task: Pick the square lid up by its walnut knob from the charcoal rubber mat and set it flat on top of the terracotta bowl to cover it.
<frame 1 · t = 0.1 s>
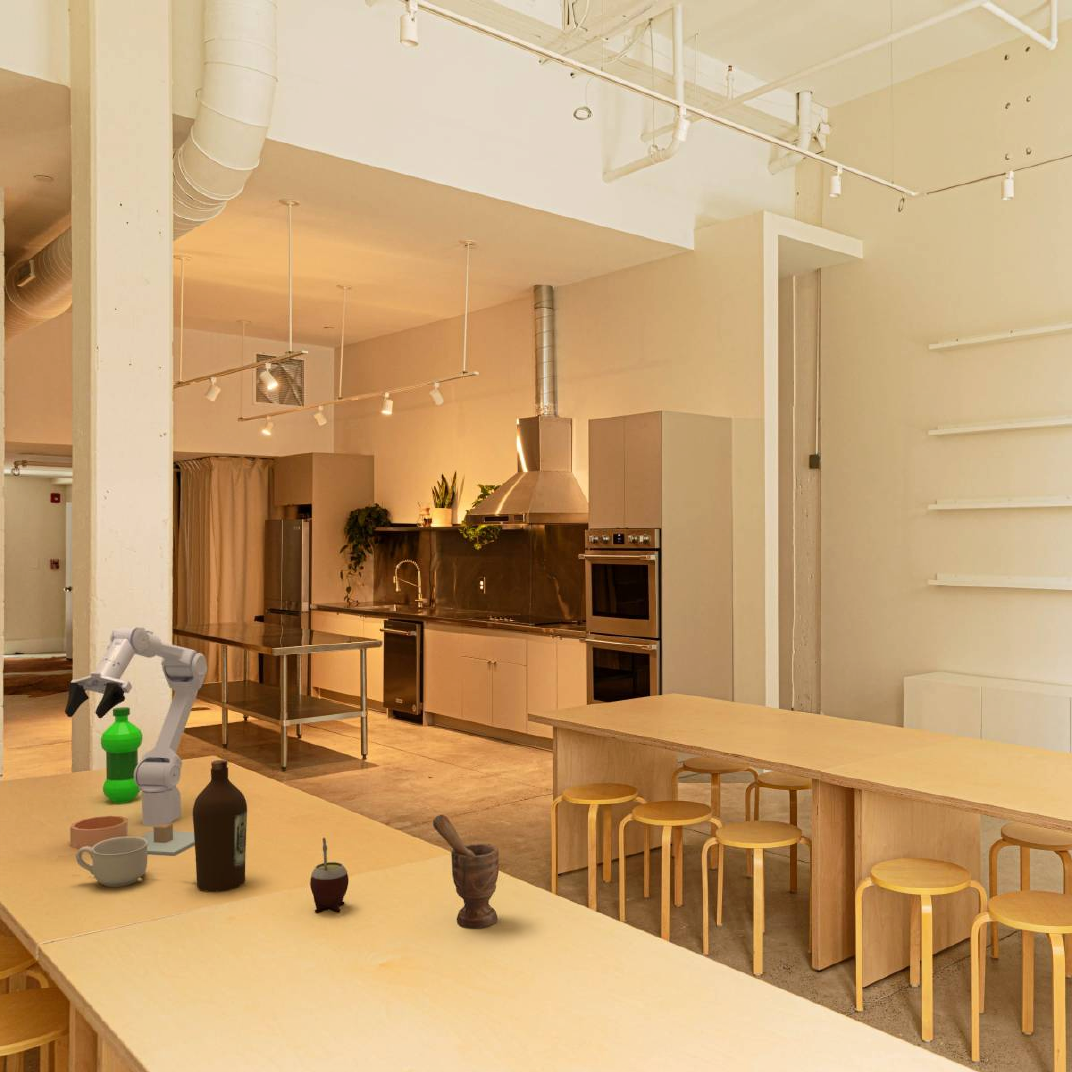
hand: (83, 714, 228), 32 cm above the table, tool tilted 50°, fingers open, 7 cm apart
lid: (163, 843, 237), point 1 cm above the table, touching mat
mat: (163, 846, 237), on the table
mate gourd: (330, 910, 195), on the table
plastic bottle: (122, 801, 280), on the table
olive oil: (221, 885, 210), on the table
bowl: (99, 844, 240), on the table
mortar and pestle: (469, 924, 187), on the table
teacup: (113, 883, 213), on the table
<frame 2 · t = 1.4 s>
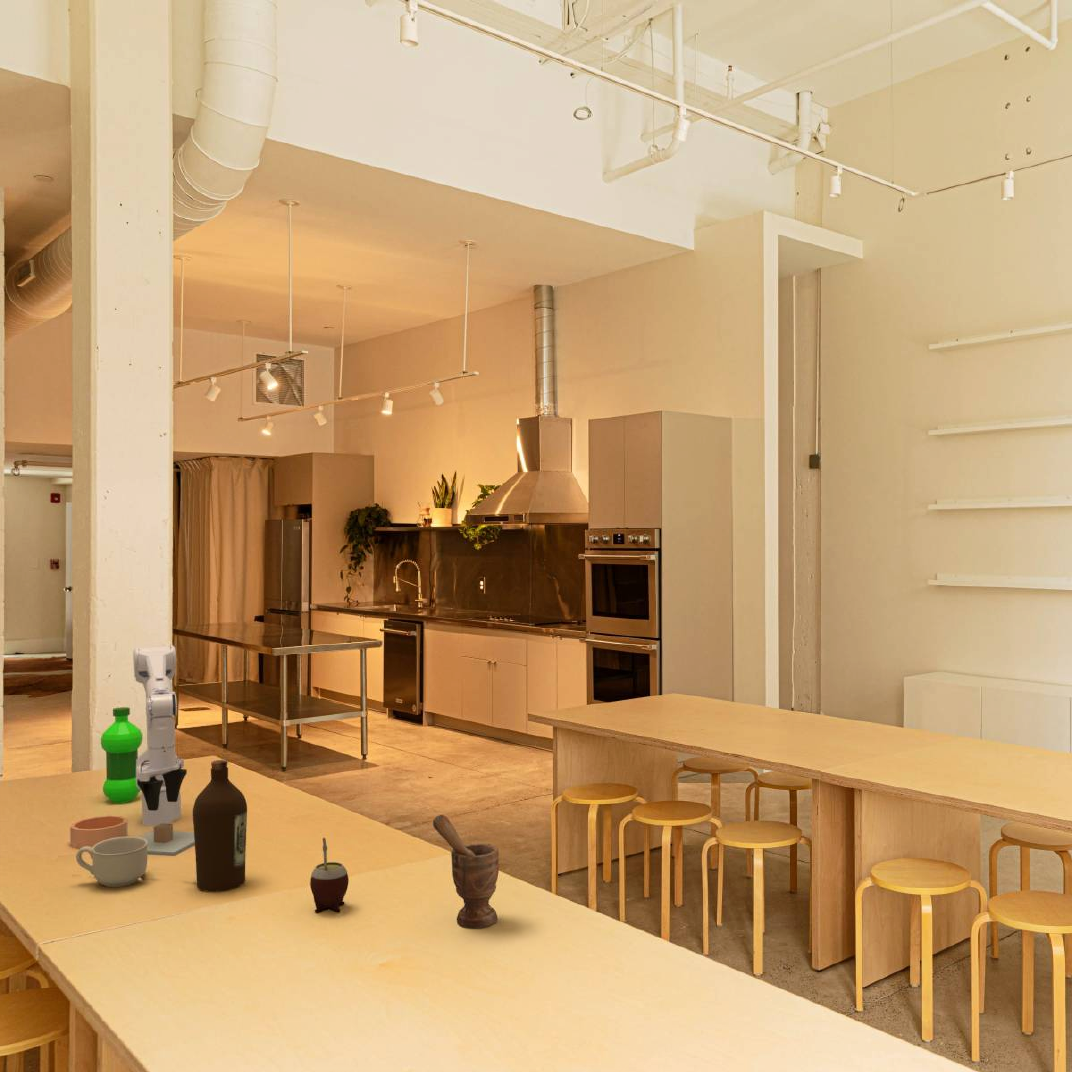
hand: (162, 805, 237), 9 cm above the table, tool pointing down, fingers open, 7 cm apart
nothing on the table moved.
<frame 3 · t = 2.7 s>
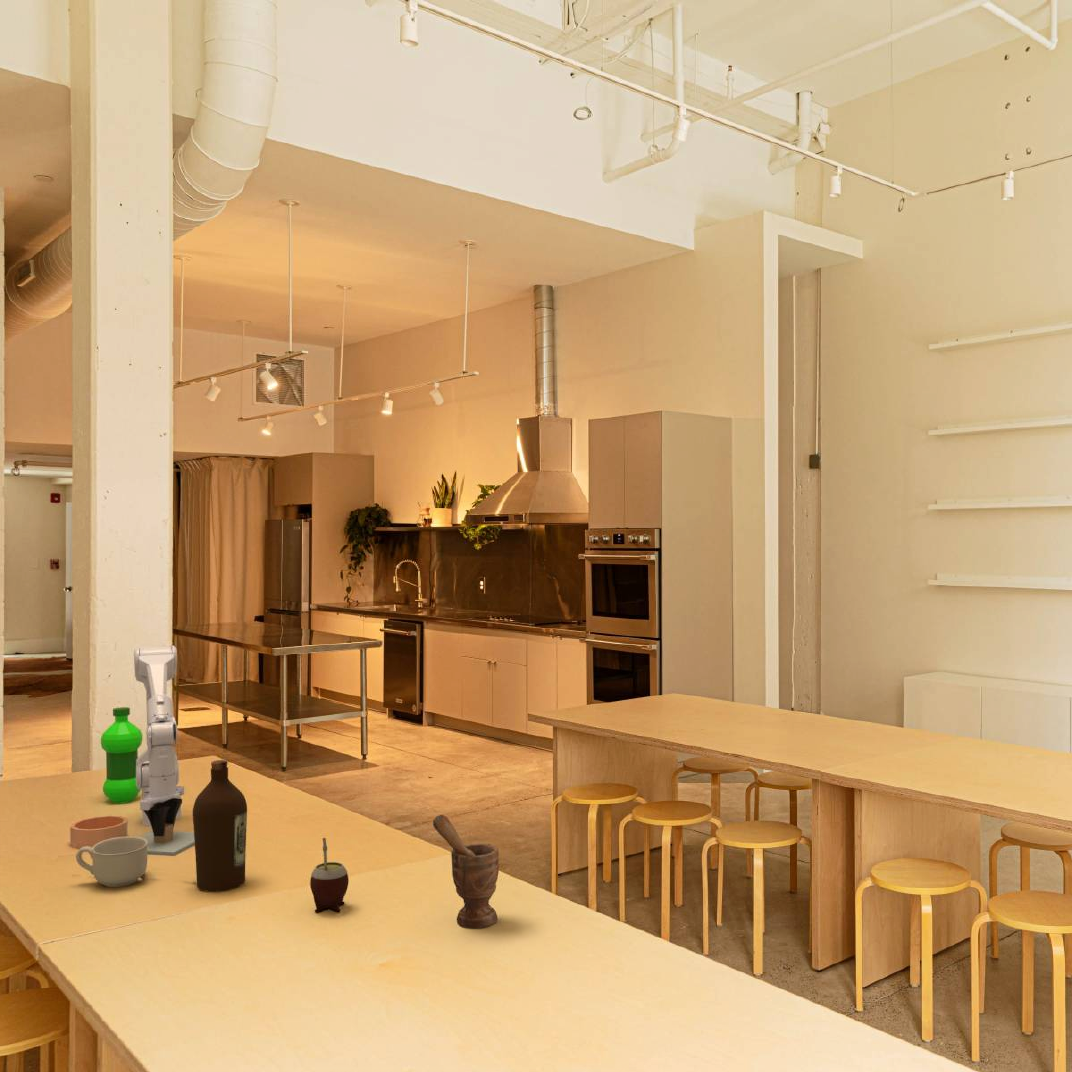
hand: (163, 833, 237), 3 cm above the table, tool pointing down, fingers closed on lid, 3 cm apart
lid: (163, 843, 237), point 1 cm above the table, touching gripper, mat
everything else where it was.
when the fingers open (8 cm above the table, at t = 6.3 s): lid stays where it is, resting on bowl.
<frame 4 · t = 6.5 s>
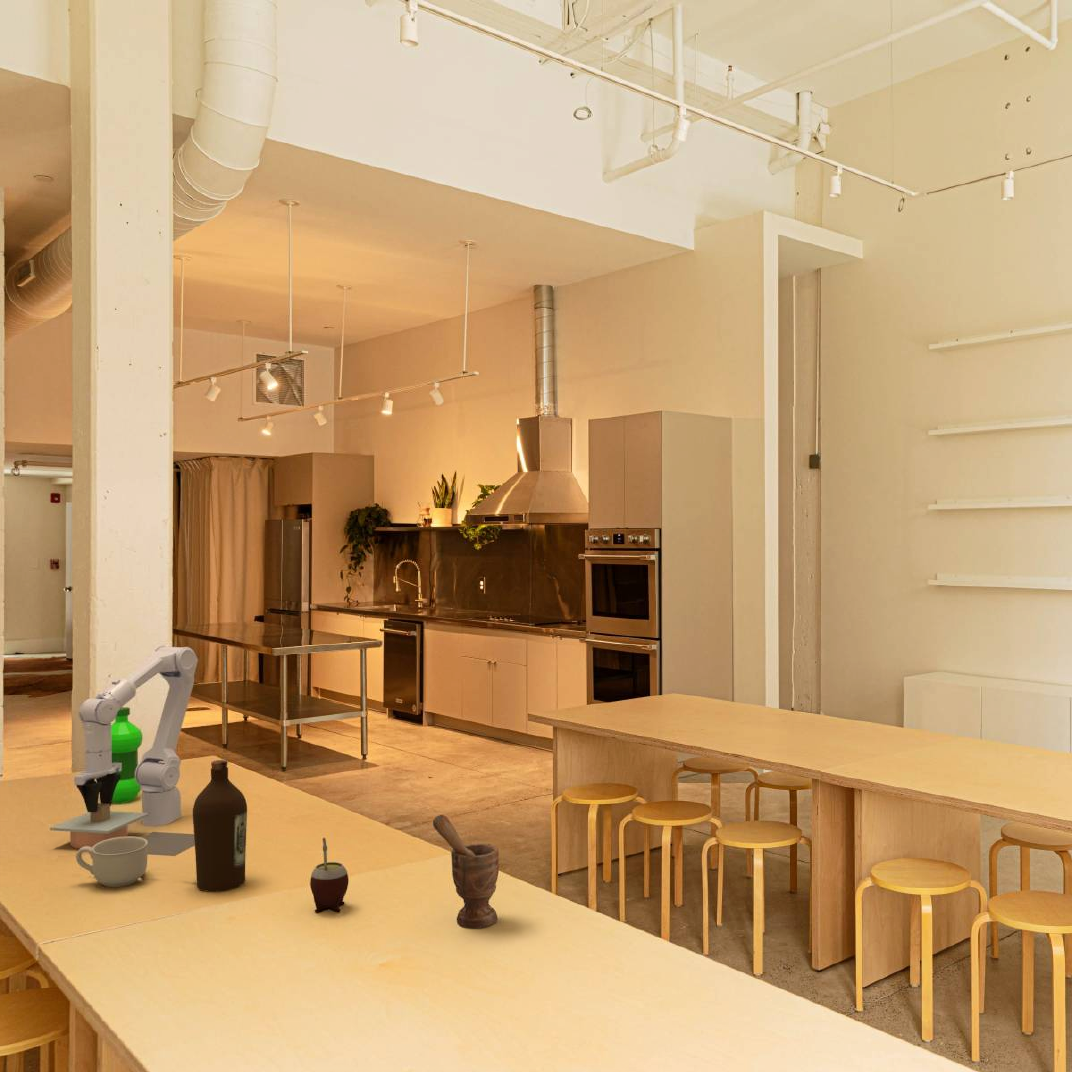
hand: (99, 809, 240), 8 cm above the table, tool pointing down, fingers open, 4 cm apart
lid: (100, 822, 240), point 5 cm above the table, touching bowl
everything else where it was.
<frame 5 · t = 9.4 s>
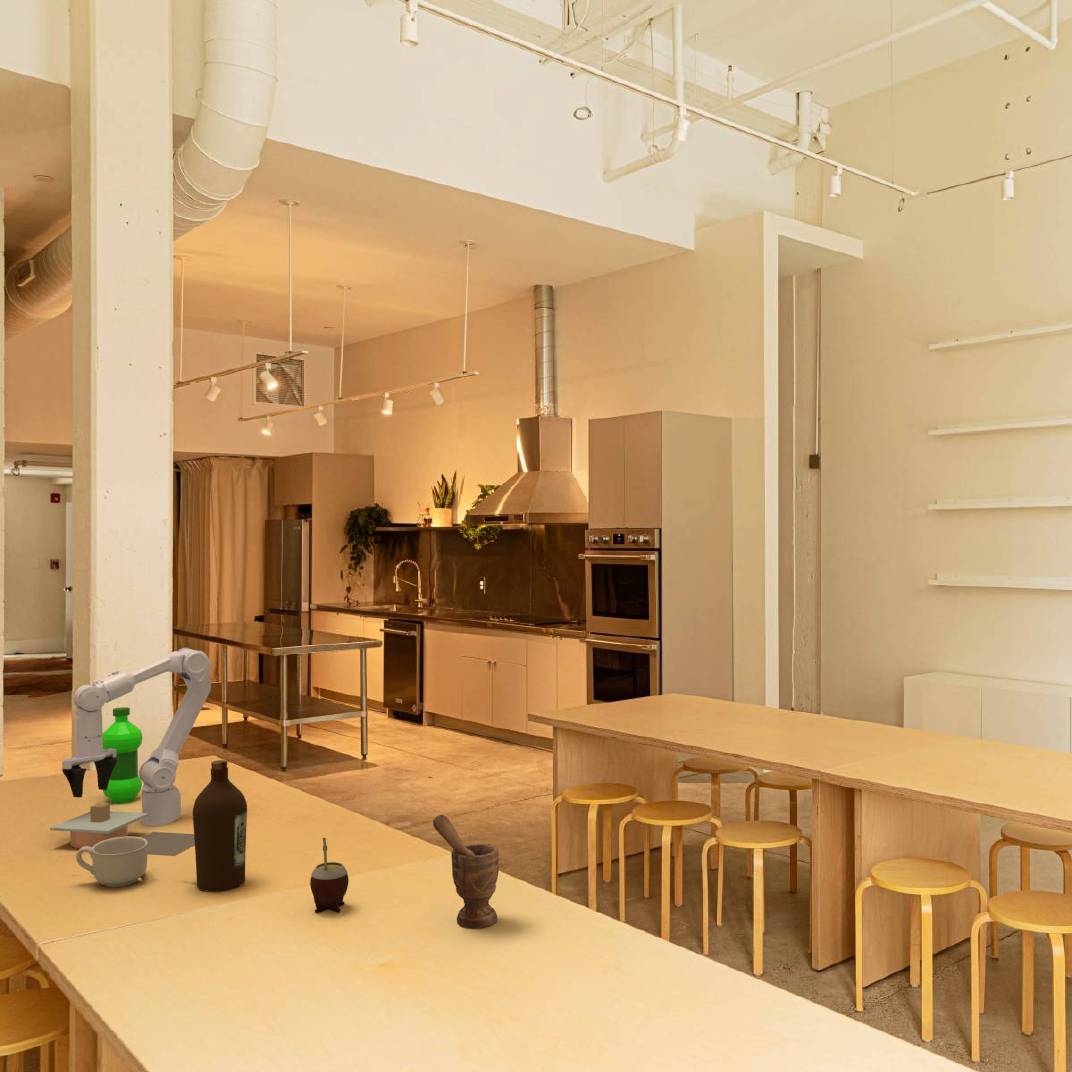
hand: (90, 793, 246), 10 cm above the table, tool pointing down, fingers open, 7 cm apart
nothing on the table moved.
at the end: lid 0.3 cm off-centre on the bowl, point 5.0 cm above the bowl's base; lid tilted 0°; the gripper is holding nothing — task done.
